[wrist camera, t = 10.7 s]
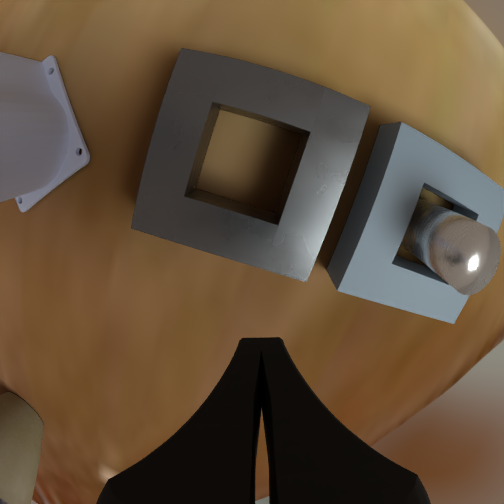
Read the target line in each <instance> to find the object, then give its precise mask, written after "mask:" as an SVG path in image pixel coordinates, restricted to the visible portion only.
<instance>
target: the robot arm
mask: <svg viewBox="0 0 504 504" xmlns="http://www.w3.org/2000/svg"><path fill="white" fill-rule="evenodd" d="M53 69H54V71H53V73H52V70H53ZM80 148H81V149H82V154H81V155H80V154H79V150H80ZM89 161H90V154H89V151H88V149H87V146H86V144H85V141H84V139H83V136H82V134H81V131H80V128H79V126H78V123H77V120H76V118H75V115H74V112H73V110H72V107H71V104H70V101H69V98H68V95H67V92H66V89H65V86H64V83H63V80H62V77H61V74H60V70H59V67H58V64H57V60H56V58H55V56H52V55H50V56H48V57H47V58H46V59H45V60H43V61H42V62H40V61H36V60H32V59H28V58H24V57H20V56H16V55H12V54H7V53H3V52H0V202H3V201H6V200H9V199H12V198H15V199H16V202H17V204H18V207H19V209H20V211H21V212H26V211H28V210H29V209H30V208H31V207H32V206H33V205H35V204H36V203H37V202H38V201H39V200H41V199H42V198H43V197H44V196H46V195H47V194H48V193H49V192H51V191H52V190H53V189H54V188H56V187H57V186H58V185H60V184H61V183H62V182H63V181H65V180H66V179H67V178H69V177H70V176H71V175H73V174H74V173H76V172H77V171H78V170H80V169H81V168H83V167H84V166H85V165H87V164H88V163H89ZM21 198H22V201H21ZM261 408H262V413H263V421H264V429H265V437H266V445H267V453H268V463H269V498H270V501H269V503H270V504H431V503H430V500H429V497H428V494H427V492H426V490H425V488H424V486H423V484H422V482H421V481H420V479H419V477H418V475H417V474H415V473H413V472H411V471H409V470H407V469H405V468H403V467H401V466H400V465H398V464H396V463H394V462H393V461H391V460H389V459H387V458H386V457H384V456H383V455H381V454H380V453H378V452H377V451H375V450H374V449H373V448H371V447H370V446H369V445H367V444H366V443H365V442H363V441H362V440H361V439H360V438H358V437H357V436H356V435H355V434H353V433H352V432H351V431H350V430H349V429H347V428H346V427H345V426H344V425H343V424H342V423H341V422H340V421H339V420H338V419H337V418H336V417H335V416H334V415H333V414H332V413H331V412H330V411H329V410H328V409H327V408H326V407H325V405H324V404H323V403H322V402H321V401H320V400H319V398H318V397H317V396H316V395H315V393H314V392H313V391H312V389H311V388H310V387H309V385H308V384H307V383H306V381H305V380H304V378H303V377H302V375H301V374H300V372H299V371H298V369H297V368H296V366H295V364H294V363H293V361H292V359H291V357H290V355H289V353H288V352H287V349H286V347H285V345H284V342H283V340H282V339H281V338H280V337H273V338H242V339H241V340H240V341H239V344H238V347H237V349H236V351H235V354H234V356H233V358H232V360H231V362H230V364H229V365H228V367H227V369H226V371H225V372H224V374H223V376H222V377H221V379H220V381H219V382H218V383H217V385H216V386H215V388H214V389H213V391H212V392H211V393H210V395H209V396H208V398H207V399H206V400H205V401H204V403H203V404H202V405H201V406H200V408H199V409H198V410H197V411H196V412H195V413H194V415H193V416H192V417H191V418H190V419H189V420H188V421H187V422H186V423H185V424H184V425H183V426H182V427H181V428H180V429H179V430H178V431H177V432H176V433H175V434H174V435H173V436H171V437H170V438H169V439H168V440H167V441H166V442H164V443H163V444H162V445H161V446H159V447H158V448H157V449H155V450H154V451H153V452H151V453H150V454H149V455H148V456H146V457H145V458H143V459H142V460H140V461H139V462H138V463H136V464H134V465H133V466H131V467H129V468H128V469H126V470H124V471H122V472H121V473H119V474H117V475H116V476H114V477H112V478H110V479H108V481H107V483H106V485H105V487H104V488H103V490H102V492H101V494H100V496H99V498H98V501H97V503H96V504H255V468H256V455H257V446H258V437H259V427H260V418H261ZM0 504H8V503H7V502H5V501H4V500H2V499H1V498H0Z"/></svg>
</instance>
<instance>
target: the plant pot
mask: <svg viewBox="0 0 504 504" xmlns="http://www.w3.org/2000/svg"><path fill="white" fill-rule="evenodd" d="M43 428H44V425H43V422H42V420H41V418H40V417H39V416H38V414H37V413H36V412H35V411H34V410H33V409H32V408H31V407H30V406H29V405H28V404H27V403H26V402H25V401H24V400H22V399H21V398H20V397H18V396H17V395H15V394H13V393H11V392H5V393H3V394H1V395H0V498H1V499H2V500H4V501H5V502H7V503H8V504H30V503H31V500H32V495H33V491H34V486H35V481H36V476H37V470H38V464H39V458H40V452H41V444H42V436H43Z"/></svg>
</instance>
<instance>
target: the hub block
mask: <svg viewBox="0 0 504 504" xmlns="http://www.w3.org/2000/svg"><path fill="white" fill-rule="evenodd" d="M422 187H423V188H425V189H427V190H429V191H431V192H433V193H434V194H436V195H438V196H440V197H442V198H443V199H445V200H447V201H449V202H451V203H452V204H454V206H453V209H452V211H454V212H456V213H459V214H461V215H463V216H466V217H468V218H470V219H472V220H475V221H477V222H479V223H481V224H483V225H485V226H488V227H490V228H492V229H493V230H494V231H495V232H496V234H497V232H498V229H499V227H500V224H501V221H502V218H503V215H504V189H503V188H502V187H500V186H499V185H498V184H497V183H495V182H494V181H493V180H491V179H490V178H489V177H487V176H486V175H485V174H483V173H482V172H481V171H479V170H478V169H477V168H475V167H474V166H472V165H471V164H470V163H468V162H467V161H465V160H464V159H462V158H461V157H459V156H458V155H456V154H455V153H453V152H452V151H450V150H449V149H447V148H446V147H444V146H442V145H441V144H439V143H438V142H436V141H434V140H433V139H431V138H429V137H428V136H426V135H424V134H422V133H421V132H419V131H417V130H416V129H414V128H412V127H410V126H408V125H406V124H405V123H403V122H398V123H390V124H383V125H380V128H379V131H378V135H377V138H376V141H375V144H374V147H373V150H372V153H371V156H370V159H369V162H368V164H367V167H366V170H365V173H364V176H363V179H362V181H361V184H360V187H359V190H358V192H357V195H356V198H355V201H354V203H353V206H352V208H351V211H350V214H349V216H348V219H347V221H346V224H345V226H344V229H343V232H342V234H341V236H340V239H339V241H338V244H337V246H336V249H335V251H334V254H333V256H332V258H331V261H330V263H329V265H328V268H327V272H328V274H329V276H330V278H331V280H332V282H333V284H334V285H335V287H336V289H337V291H340V292H343V293H346V294H350V295H353V296H357V297H360V298H364V299H367V300H371V301H374V302H378V303H381V304H385V305H388V306H392V307H395V308H399V309H402V310H406V311H409V312H413V313H416V314H420V315H424V316H427V317H431V318H434V319H438V320H441V321H445V322H449V323H452V324H454V322H455V321H456V319H457V317H458V315H459V314H460V312H461V310H462V308H463V306H464V305H465V303H466V301H467V299H468V297H469V295H463V294H461V293H459V292H458V291H456V290H455V289H454V288H453V287H452V286H451V285H450V284H448V283H447V282H446V281H445V280H444V279H442V278H441V277H440V276H439V275H438V274H437V273H435V272H434V271H433V270H432V269H430V268H429V267H425V266H423V265H420V264H418V263H415V262H413V261H410V260H407V259H405V258H402V257H400V256H397V255H396V253H397V251H398V248H399V246H400V244H401V241H402V239H403V237H404V234H405V232H406V229H407V227H408V224H409V222H410V219H411V217H412V214H413V212H414V209H415V207H416V204H417V201H418V198H419V196H420V193H421V190H422Z"/></svg>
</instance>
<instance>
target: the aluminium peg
mask: <svg viewBox="0 0 504 504" xmlns="http://www.w3.org/2000/svg"><path fill="white" fill-rule="evenodd" d="M401 245H402V246H403V247H404V248H405V249H407V250H408V251H409V252H411V253H412V254H413V255H414V256H416V257H417V258H418V259H419V260H421V261H422V262H423V263H424V264H426V265H427V266H428V267H429V268H430V269H432V270H433V271H434V272H435V273H437V274H438V275H439V276H440V277H441V278H442V279H444V280H445V281H446V282H447V283H448V284H450V285H451V286H452V287H453V288H454V289H455V290H456V291H458V292H459V293H461V294H463V295H472V294H475V293H477V292H479V291H481V290H482V289H483V288H484V287H485V286H486V285H487V284H488V283H489V282H490V280H491V279H492V277H493V276H494V274H495V272H496V270H497V267H498V264H499V260H500V252H501V249H500V241H499V238H498V236H497V234H496V232H495V231H494V230H493V229H492V228H490V227H488V226H485V225H483V224H481V223H479V222H477V221H475V220H472V219H470V218H468V217H466V216H463V215H461V214H459V213H456V212H454V211H452V210H449V209H447V208H444V207H442V206H439V205H437V204H434V203H432V202H429V201H427V200H424V199H421V198H418V201H417V204H416V207H415V209H414V212H413V214H412V217H411V219H410V222H409V224H408V227H407V229H406V232H405V234H404V237H403V239H402V241H401Z"/></svg>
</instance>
